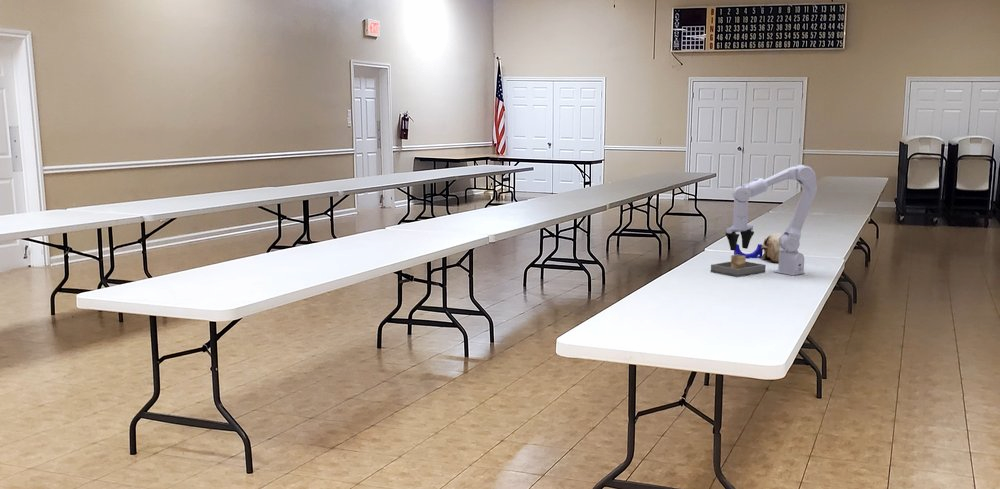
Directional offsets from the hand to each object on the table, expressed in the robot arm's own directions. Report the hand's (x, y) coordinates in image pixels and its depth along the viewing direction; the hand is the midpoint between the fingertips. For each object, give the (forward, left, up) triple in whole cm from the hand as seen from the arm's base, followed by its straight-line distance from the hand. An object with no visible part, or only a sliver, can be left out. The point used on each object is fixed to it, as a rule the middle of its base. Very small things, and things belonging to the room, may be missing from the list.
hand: (739, 249), depth 345 cm
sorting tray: (0, 0, -9) cm, 9 cm away
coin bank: (+7, -35, -10) cm, 38 cm away
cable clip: (+19, -31, -10) cm, 38 cm away
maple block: (0, 0, -9) cm, 9 cm away
